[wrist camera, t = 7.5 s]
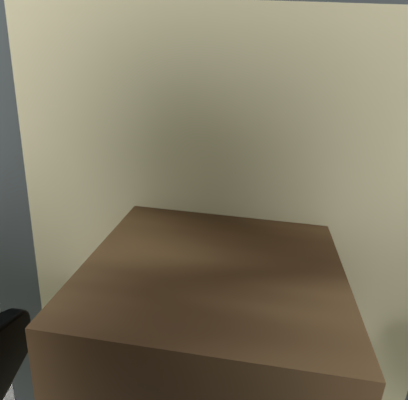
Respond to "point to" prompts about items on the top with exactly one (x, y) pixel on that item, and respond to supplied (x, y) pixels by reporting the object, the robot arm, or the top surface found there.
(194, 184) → the slate pad
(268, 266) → the walnut cube
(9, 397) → the top surface
